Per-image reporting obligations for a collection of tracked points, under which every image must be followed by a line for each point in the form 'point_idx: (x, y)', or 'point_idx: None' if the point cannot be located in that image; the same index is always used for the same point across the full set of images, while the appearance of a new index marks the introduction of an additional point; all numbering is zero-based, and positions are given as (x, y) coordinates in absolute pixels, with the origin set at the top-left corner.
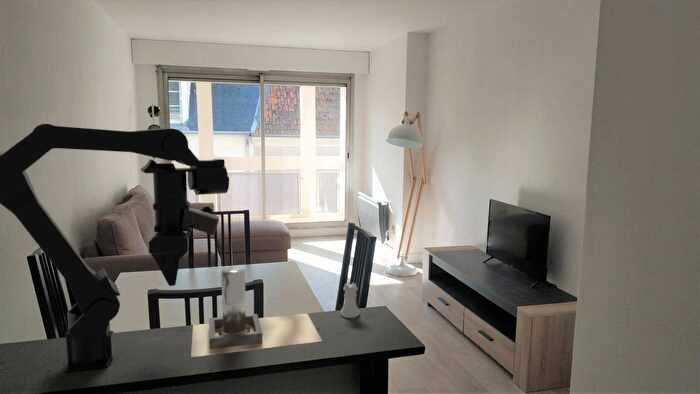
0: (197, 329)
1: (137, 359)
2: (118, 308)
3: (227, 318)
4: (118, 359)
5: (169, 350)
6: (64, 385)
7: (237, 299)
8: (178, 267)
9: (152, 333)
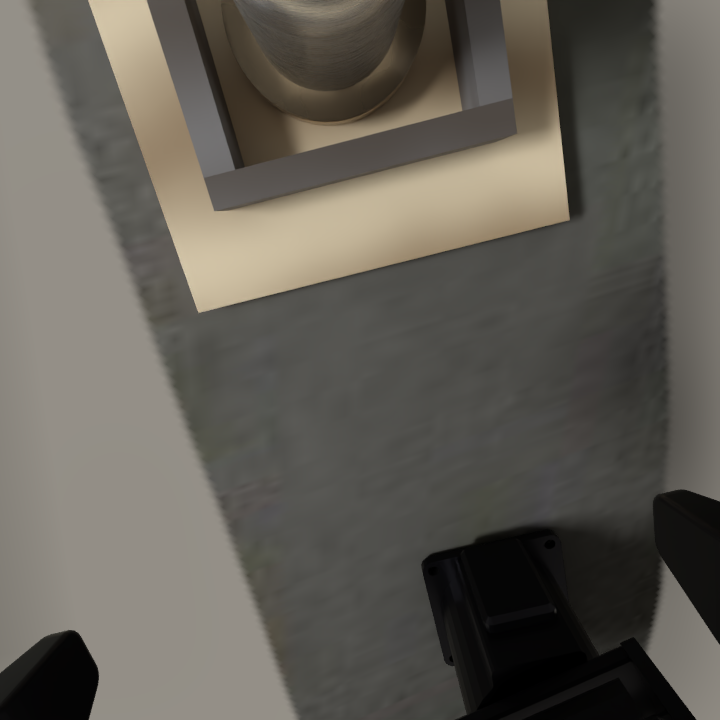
0: (254, 273)
1: (498, 450)
2: (640, 712)
3: (403, 3)
4: (490, 514)
5: (429, 352)
6: (645, 594)
7: None
8: (47, 658)
9: (257, 478)
